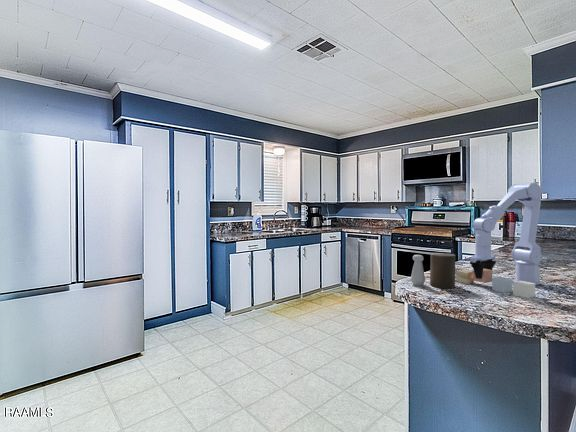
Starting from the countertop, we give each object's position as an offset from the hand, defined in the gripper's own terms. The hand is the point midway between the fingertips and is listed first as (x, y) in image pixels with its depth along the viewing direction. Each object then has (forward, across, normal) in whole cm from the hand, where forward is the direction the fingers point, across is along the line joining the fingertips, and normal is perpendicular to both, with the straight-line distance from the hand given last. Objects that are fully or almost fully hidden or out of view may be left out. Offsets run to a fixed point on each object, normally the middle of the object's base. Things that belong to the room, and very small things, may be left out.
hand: (482, 277), depth 135 cm
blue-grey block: (+4, 0, +8) cm, 9 cm away
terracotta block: (+2, 0, 0) cm, 2 cm away
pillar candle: (+4, +15, -8) cm, 17 cm away
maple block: (+4, 0, -8) cm, 9 cm away
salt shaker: (+4, +23, -14) cm, 27 cm away
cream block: (+4, 0, +16) cm, 16 cm away
